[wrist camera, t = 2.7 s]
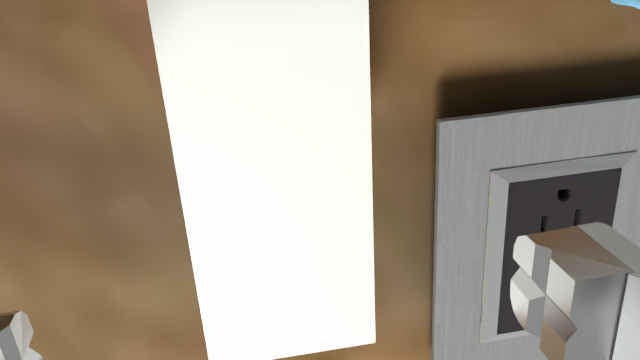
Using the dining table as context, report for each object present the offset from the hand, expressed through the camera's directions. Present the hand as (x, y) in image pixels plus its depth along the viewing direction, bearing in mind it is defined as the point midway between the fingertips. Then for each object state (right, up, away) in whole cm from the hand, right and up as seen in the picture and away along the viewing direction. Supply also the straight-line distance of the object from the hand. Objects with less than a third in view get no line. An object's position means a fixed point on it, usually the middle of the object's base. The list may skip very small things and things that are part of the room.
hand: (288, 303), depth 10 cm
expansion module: (-2, +5, +12) cm, 13 cm away
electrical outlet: (+10, 0, +17) cm, 20 cm away
